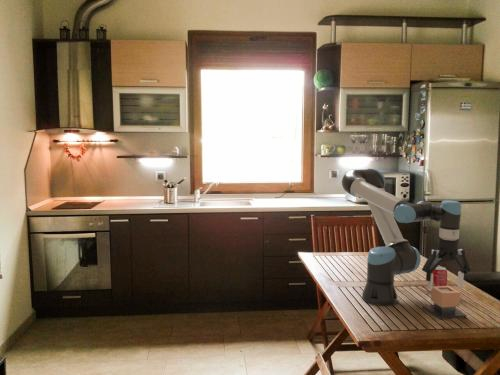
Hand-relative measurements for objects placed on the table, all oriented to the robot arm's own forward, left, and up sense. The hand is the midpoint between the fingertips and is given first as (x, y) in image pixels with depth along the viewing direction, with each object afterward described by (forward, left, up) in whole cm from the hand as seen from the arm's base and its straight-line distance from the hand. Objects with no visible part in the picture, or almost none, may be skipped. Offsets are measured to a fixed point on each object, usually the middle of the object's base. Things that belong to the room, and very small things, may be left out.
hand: (444, 287), depth 183 cm
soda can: (+11, +23, -11) cm, 27 cm away
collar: (0, 0, -7) cm, 7 cm away
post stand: (0, 0, -11) cm, 11 cm away
